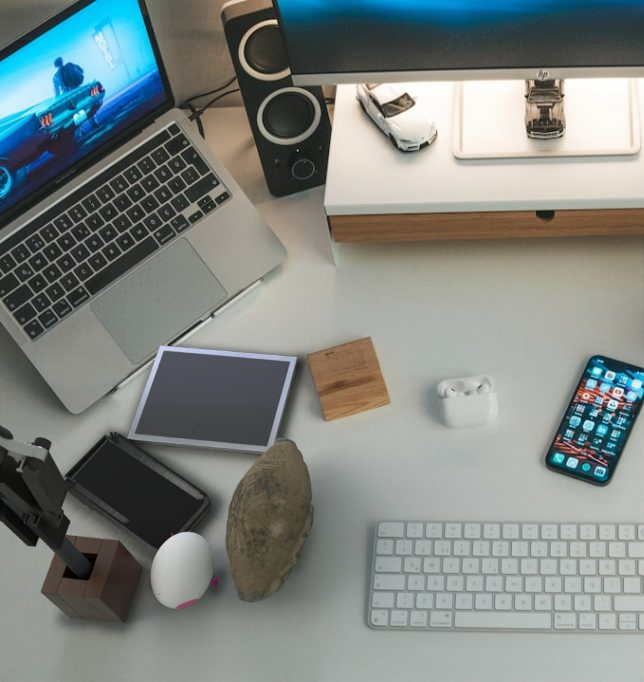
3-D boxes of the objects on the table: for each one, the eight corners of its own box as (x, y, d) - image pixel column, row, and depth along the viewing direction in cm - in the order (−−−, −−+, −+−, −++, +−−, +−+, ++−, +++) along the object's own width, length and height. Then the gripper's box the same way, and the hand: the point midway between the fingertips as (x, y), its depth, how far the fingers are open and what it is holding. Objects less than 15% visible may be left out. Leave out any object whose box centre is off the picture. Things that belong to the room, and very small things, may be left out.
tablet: (129, 442, 117) (126, 438, 116) (162, 348, 123) (159, 344, 123) (273, 456, 115) (271, 452, 115) (298, 360, 122) (297, 356, 121)
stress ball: (188, 558, 113) (135, 535, 108) (240, 541, 109) (188, 516, 104) (172, 629, 108) (117, 608, 104) (226, 613, 104) (171, 590, 100)
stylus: (91, 595, 106) (-6, 497, 88) (97, 579, 107) (2, 480, 89) (107, 597, 106) (12, 500, 88) (112, 581, 107) (20, 482, 89)
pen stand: (68, 617, 106) (39, 592, 101) (88, 561, 110) (61, 533, 104) (124, 623, 106) (99, 598, 100) (143, 567, 109) (119, 540, 103)
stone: (310, 615, 106) (293, 585, 99) (221, 614, 106) (198, 584, 99) (330, 458, 115) (316, 422, 108) (248, 458, 115) (229, 422, 109)
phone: (111, 427, 117) (213, 498, 111) (115, 432, 117) (216, 502, 112) (56, 483, 113) (159, 558, 108) (60, 488, 114) (162, 563, 109)
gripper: (34, 363, 77) (141, 502, 97) (-157, 346, 79) (-13, 487, 98) (-6, 457, 73) (115, 582, 93) (-207, 437, 75) (-46, 565, 94)
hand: (49, 533), depth 96 cm, fingers closed on stylus, 1 cm apart
